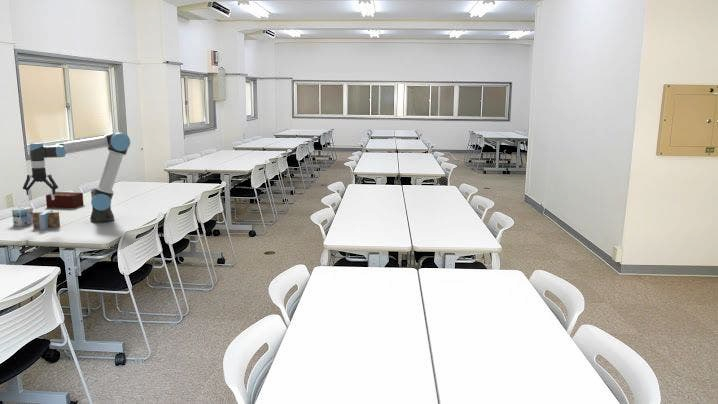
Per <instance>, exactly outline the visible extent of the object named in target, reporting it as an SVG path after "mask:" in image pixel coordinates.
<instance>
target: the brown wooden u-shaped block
mask: <svg viewBox="0 0 718 404" xmlns="http://www.w3.org/2000/svg"><path fill="white" fill-rule="evenodd" d="M43 212H44V211H33V213H32V216H33V223H32V225H33V228H34V229H40V223H39V214H41V213H43ZM48 214H49V219H48V220H47V221H48V228H49V229H51V228H53V229H54V228H55V229H57V228H60V227H61V221H60V212H59V211H53V212H49V213H48ZM48 228H47V229H48Z"/></svg>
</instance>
